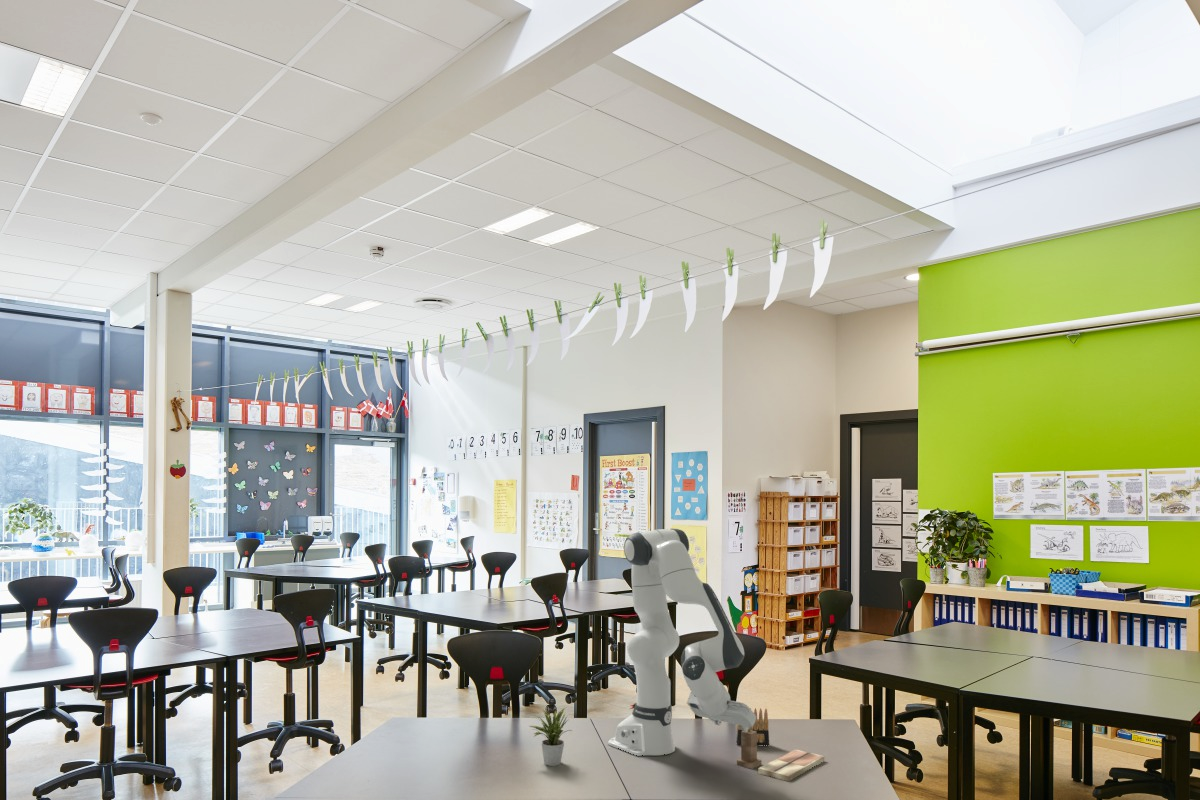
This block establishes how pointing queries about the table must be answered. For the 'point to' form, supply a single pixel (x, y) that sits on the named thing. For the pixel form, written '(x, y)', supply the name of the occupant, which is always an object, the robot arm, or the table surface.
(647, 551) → the robot arm
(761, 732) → the ammunition clip
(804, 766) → the maple board
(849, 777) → the table surface
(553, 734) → the house plant
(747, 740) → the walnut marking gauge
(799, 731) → the table surface
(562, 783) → the table surface
